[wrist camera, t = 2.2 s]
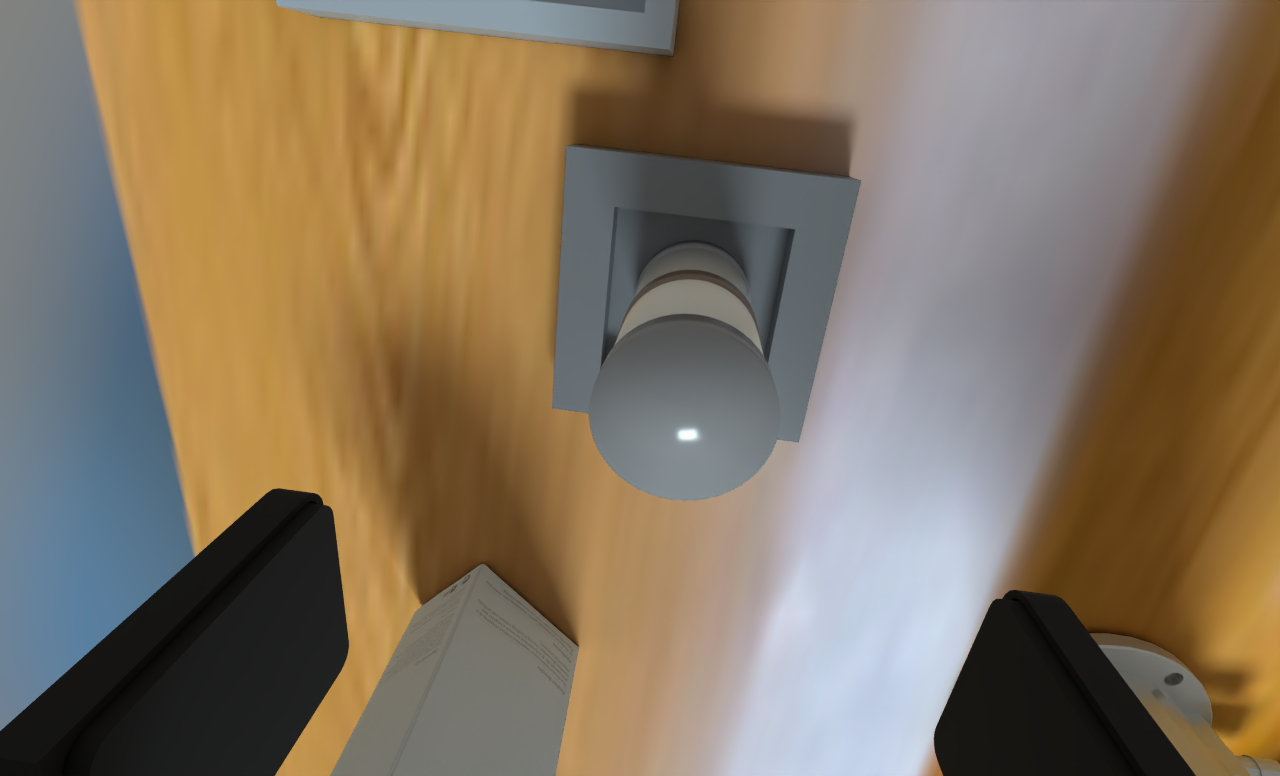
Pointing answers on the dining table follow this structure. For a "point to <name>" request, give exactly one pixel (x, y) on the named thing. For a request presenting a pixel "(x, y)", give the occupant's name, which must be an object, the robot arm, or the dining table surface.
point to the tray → (521, 19)
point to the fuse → (687, 380)
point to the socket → (708, 211)
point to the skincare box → (468, 690)
